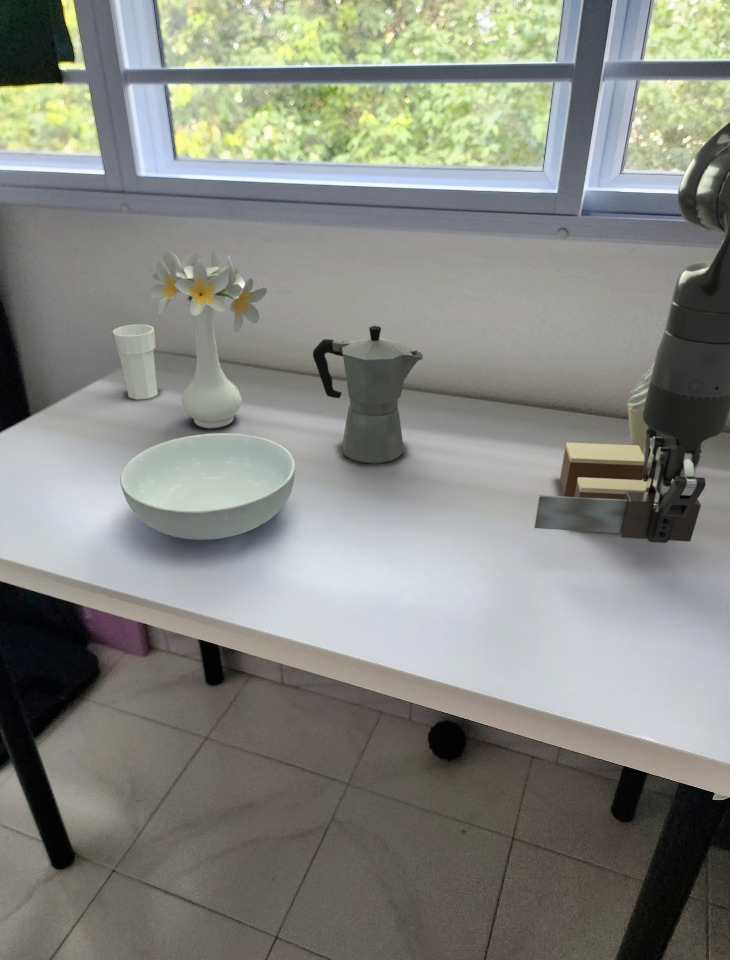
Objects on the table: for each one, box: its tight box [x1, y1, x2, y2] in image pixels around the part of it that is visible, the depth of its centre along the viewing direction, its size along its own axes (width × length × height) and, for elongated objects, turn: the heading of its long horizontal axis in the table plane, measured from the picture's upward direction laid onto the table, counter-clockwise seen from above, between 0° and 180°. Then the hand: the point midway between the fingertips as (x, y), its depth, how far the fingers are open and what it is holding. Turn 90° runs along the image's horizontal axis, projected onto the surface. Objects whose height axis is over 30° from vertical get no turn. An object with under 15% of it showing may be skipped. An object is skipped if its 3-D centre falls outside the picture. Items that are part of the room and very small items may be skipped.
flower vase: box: [148, 250, 268, 429], centre depth 111 cm, size 13×18×25 cm
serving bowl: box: [119, 432, 297, 541], centre depth 91 cm, size 21×21×7 cm
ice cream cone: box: [626, 363, 654, 452], centre depth 100 cm, size 5×5×15 cm
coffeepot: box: [312, 325, 424, 464], centre depth 104 cm, size 15×9×18 cm, turn 70°
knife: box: [534, 492, 702, 542], centre depth 80 cm, size 16×2×4 cm, turn 82°
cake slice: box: [574, 477, 647, 500], centre depth 88 cm, size 9×3×6 cm, turn 82°
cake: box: [559, 442, 645, 497], centre depth 95 cm, size 9×5×6 cm, turn 82°
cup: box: [111, 323, 159, 400], centre depth 126 cm, size 7×7×11 cm
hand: (653, 533), depth 80 cm, fingers closed on knife, 2 cm apart
